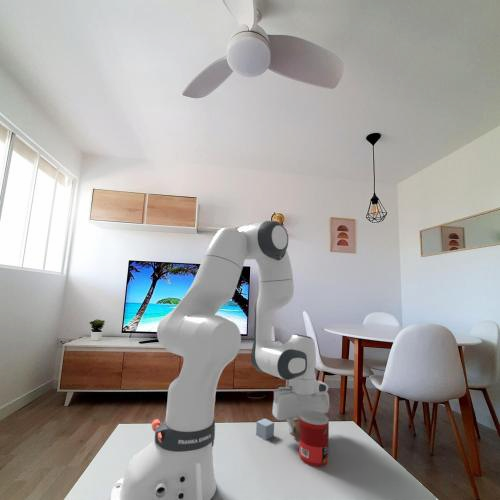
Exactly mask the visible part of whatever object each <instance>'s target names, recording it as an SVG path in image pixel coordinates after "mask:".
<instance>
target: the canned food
mask: <svg viewBox="0 0 500 500" xmlns="http://www.w3.org/2000/svg"><path fill="white" fill-rule="evenodd" d="M329 424H330V423H329V417H328V416H327V415H326V414H325V413H324V414H322V413H319V412H315V411H304V412H302V413H301V414H300V435H299V441H298V442H299V445H298V449H299V451H298V452H299V453H298V455H299V458H300V459H301V461H302V462H304V463H305V464H307V465H309V466H312V467H323V466H326V465H327V463H328V461H329V444H330V443H329V436H330V435H329V433H330V431H329V429H330V428H329V427H330V426H329Z"/></svg>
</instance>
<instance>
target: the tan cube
mask: <svg viewBox="0 0 500 500" xmlns="http://www.w3.org/2000/svg"><path fill="white" fill-rule="evenodd" d="M292 423H293V425H294V426H296V432H294V433H291V432H290V431H289V434H290V436H292V437H293V436H294V437H295V438H294V437H293V438H294V439H296V440H297V441H298V442H299V435H300V417H299V418H294V420H293V422H292Z"/></svg>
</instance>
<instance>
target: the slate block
mask: <svg viewBox="0 0 500 500" xmlns="http://www.w3.org/2000/svg"><path fill="white" fill-rule="evenodd" d="M255 427H256V428H255V436H257V437H259V438H261V439H262V440H264V441H267V440H268V439H271V438H272V437H274V436H275V435H274V434H275V422H273V421H271V420H269V419H267V418H262V419H260V420H257V421H256V426H255Z"/></svg>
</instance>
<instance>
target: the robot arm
mask: <svg viewBox="0 0 500 500" xmlns="http://www.w3.org/2000/svg"><path fill="white" fill-rule="evenodd" d="M288 247H289V234H288V231H287V229H286V228H285V226H284V225H283V224H282V223H281V222H280V221H276V220H266V221H262V222H256V223H249V224H245V225H243V226H242V225H241V226H240V227H239V226H238V227H230V226H228V227H227V226H226V227H223V228H221V229H219V230H218V231H217V232H216V234H215V235H214V236H213V238H212V239H211V241H210V243H209V245H208V246H207V248H206V251H205V253H204V256H203V258H202V259H201V263H200V265H199V268H198V270H197V272H196V274H195V277H194V279H193V281H192V283H191V285H190V286H189V288H188V290H187V291H186V293H185V295H183V297H182V298H181V300H180V301H179V302H178V303H177V305H176V306H175V307H174V308H173V309H172V310H171V311H170V312H169V313H167V314H166V315H165V316H163V317H162V319H161V320H160V321H159V323H158V325H157V329H156V338H157V340H158V342H159V343H160V345H161V346H162V347H163V348H164V349H165V350H167V351H168V352H170V353H171V354H174V355H177V356H180V357H182V358H183V363H182V366H181V370H180V372H179V375H178V376H177V377H176V378H175V379H173V381H172V382H171V383H170V384H169V387H168V392H167V402H166V412H165V413H166V414H165V419H164V420H163V421H162V422H161V421H160V419H158V418H157V419H154V420H153V421H152V422H151V428H152V431H153V432H154V440H152V441H151V442H150V443H148V444H147V445H146V446H145V447H144V448H142V449H141V450H140V451H139V452H137V453H136V454H135V455H133V456H132V458H131V459H130V461H129V463H128V464H127V468H126V469H125V473H124V476H123V477H121V478H119V479H118V480H116V482H115V483H114V485H113V487H112V489H111V492H110V496H109V500H211V499H212V498H213V497H214V495H215V493H216V491H217V482H216V479H215V471H214V462H213V460H214V459H213V457H214V456H213V447H214V444H215V438H216V420H215V419H214V418H215V417H214V416H215V403H216V393H217V388H218V383H219V380H220V379H221V378H220V377H221V374H222V373H223V370H224V369H225V367H227V366H228V365H229V364H230V363H231V362H232V361H234V359H235V358H236V357H237V355H238V353H239V351H240V349H241V343H242V335H241V331H240V328H239V327H238V325H237V324H236V323H235V322H234V321H231V320H229V319H227V318H225V317H223V316H221V315H217V312H218V311H219V310H220V309H221V308H222V307H223V306H224V305H225V304H228V302H230V301H231V300H232V298H233V297H234V296H235V292H236V289H237V286H238V283H239V280H240V277H241V275H242V271H243V268H244V265H245V260H255V262H256V264H257V265H258V295H257V299H256V301H255V306H254V319H253V320H254V323H253V324H254V326H253V344H252V348H251V353H250V361H251V364H252V366H253V368H254V370H256V371H258V372H261V373H265V374H267V375H268V374H269V375H271V376H274V377H277V378H279V379H280V380H281V379H282V380H284V381H285V380H286V381H287V380H288V385H287V386H284V387H283V386H279V387H278V388H276V390H275V391H274V393H273V403H272V416H273V417H274V418H275V419H276V420H277V421H284V420H285V421H286V422H287V424H288V427H289V428H288V429H289V430H288V431H289V433H290V432H291V433H294V432H296V426H294V425H293V423H292V422H293V420H294V418H299V417H300V414H301V413H302V412H304V411H315V412H319V413H322V414H324V415H325V414H327V413H328V412H329V410H330V395H329V392H328V391H329V384H327V383H325V382H323V381H321V380H318V379H317V377H316V376H317V375H316V372H315V369H316V364H317V349H316V342H315V339H313V337H312V336H309V335H303V334H297V333H293V334H292V335H291V338H290V339H288V341H286V342H285V343H283V344H277V343H275V342H274V340H273V339H272V338H273V337H272V330H273V329H272V326H273V316H274V314H275V312H276V311H277V310H280V309H282V308H284V307H285V306H288V304H289V303H290V302H291V300H292V299H293V297H294V290H295V289H294V279H293V278H294V277H293V269H292V264H291V259H290V256H289V252H288Z"/></svg>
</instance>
